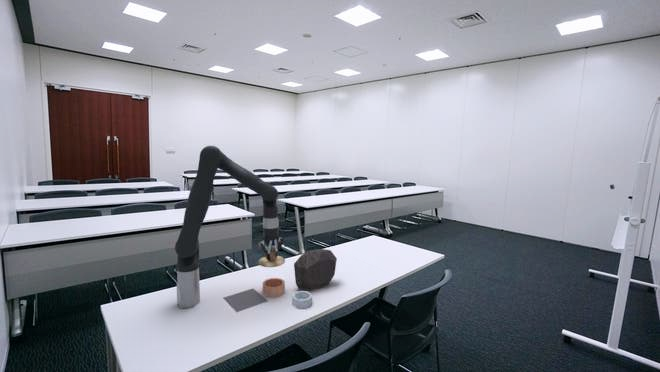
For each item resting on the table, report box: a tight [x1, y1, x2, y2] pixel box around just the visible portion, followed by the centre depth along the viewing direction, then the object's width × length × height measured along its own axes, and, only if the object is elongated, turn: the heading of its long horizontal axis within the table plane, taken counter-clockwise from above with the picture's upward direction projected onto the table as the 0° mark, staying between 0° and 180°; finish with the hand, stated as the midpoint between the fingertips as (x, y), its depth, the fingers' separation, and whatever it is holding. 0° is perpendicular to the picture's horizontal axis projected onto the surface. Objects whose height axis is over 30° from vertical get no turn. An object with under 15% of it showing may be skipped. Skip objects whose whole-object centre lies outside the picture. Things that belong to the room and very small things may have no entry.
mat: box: [223, 288, 269, 313], centre depth 150 cm, size 16×16×1 cm
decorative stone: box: [293, 248, 337, 291], centre depth 165 cm, size 24×9×20 cm, turn 123°
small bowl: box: [291, 290, 313, 310], centre depth 148 cm, size 9×9×4 cm
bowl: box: [262, 277, 286, 298], centre depth 158 cm, size 11×11×5 cm
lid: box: [257, 249, 286, 268], centre depth 155 cm, size 13×13×5 cm
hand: (271, 259), depth 155 cm, fingers closed on lid, 2 cm apart
